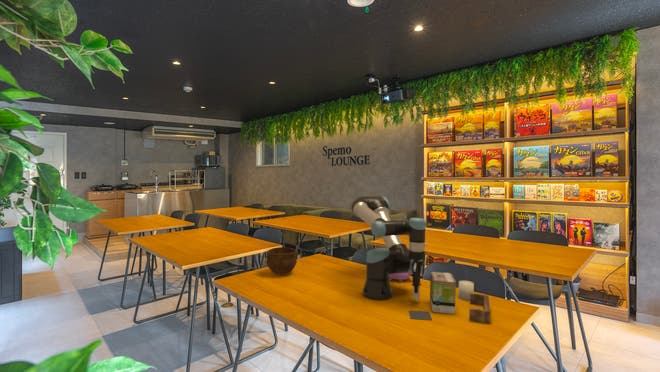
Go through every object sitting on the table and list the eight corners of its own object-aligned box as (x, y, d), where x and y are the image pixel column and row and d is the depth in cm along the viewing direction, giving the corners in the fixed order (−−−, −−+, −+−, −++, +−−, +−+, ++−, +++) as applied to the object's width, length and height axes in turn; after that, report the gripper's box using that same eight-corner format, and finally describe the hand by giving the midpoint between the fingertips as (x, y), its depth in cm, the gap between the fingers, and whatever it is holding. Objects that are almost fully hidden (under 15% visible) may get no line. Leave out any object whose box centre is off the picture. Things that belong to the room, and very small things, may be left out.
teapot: (422, 279, 201) (422, 256, 200) (411, 286, 188) (412, 262, 188) (388, 272, 214) (389, 251, 213) (376, 278, 201) (377, 256, 201)
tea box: (455, 314, 151) (456, 281, 150) (432, 312, 153) (433, 280, 152) (450, 302, 165) (451, 272, 165) (429, 300, 167) (430, 270, 167)
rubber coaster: (410, 320, 145) (410, 318, 145) (408, 312, 154) (408, 310, 154) (432, 321, 144) (432, 319, 144) (429, 313, 153) (429, 311, 153)
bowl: (295, 278, 200) (295, 253, 200) (263, 278, 201) (263, 253, 200) (298, 269, 219) (298, 247, 219) (269, 269, 219) (269, 246, 219)
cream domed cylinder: (458, 299, 169) (458, 283, 169) (458, 295, 175) (459, 279, 175) (473, 301, 166) (473, 285, 166) (473, 297, 172) (473, 281, 172)
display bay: (469, 320, 144) (469, 309, 144) (470, 302, 164) (470, 292, 164) (489, 324, 141) (490, 312, 141) (488, 305, 161) (488, 295, 161)
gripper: (422, 253, 155) (422, 304, 156) (426, 248, 167) (426, 295, 168) (406, 252, 158) (405, 302, 159) (411, 247, 170) (410, 293, 171)
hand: (416, 298), depth 163 cm, fingers closed
